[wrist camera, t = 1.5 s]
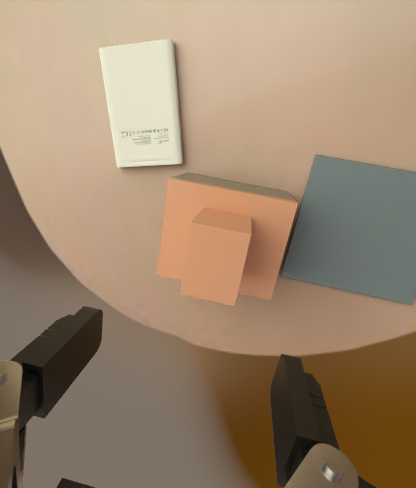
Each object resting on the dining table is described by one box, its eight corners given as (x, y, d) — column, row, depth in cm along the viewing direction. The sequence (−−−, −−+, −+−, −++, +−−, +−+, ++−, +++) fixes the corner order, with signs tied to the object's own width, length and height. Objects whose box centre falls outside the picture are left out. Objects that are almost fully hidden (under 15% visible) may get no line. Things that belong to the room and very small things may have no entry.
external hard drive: (175, 44, 30) (184, 163, 33) (105, 53, 31) (121, 167, 35) (171, 38, 28) (181, 164, 32) (97, 47, 29) (115, 167, 33)
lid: (174, 176, 27) (143, 185, 20) (294, 199, 26) (312, 218, 19) (163, 266, 31) (133, 304, 23) (269, 289, 30) (275, 338, 22)
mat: (315, 154, 30) (316, 154, 30) (468, 181, 29) (470, 181, 28) (280, 275, 35) (281, 276, 35) (409, 303, 34) (411, 304, 33)
